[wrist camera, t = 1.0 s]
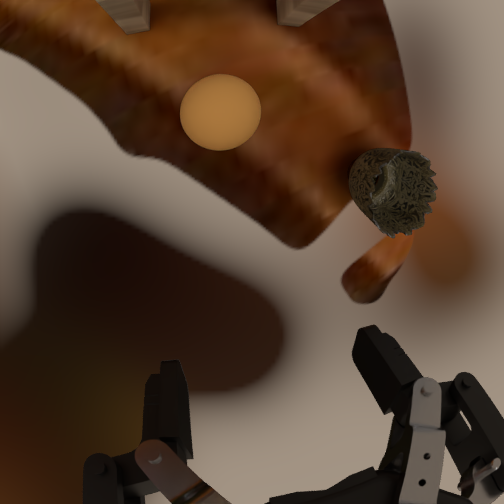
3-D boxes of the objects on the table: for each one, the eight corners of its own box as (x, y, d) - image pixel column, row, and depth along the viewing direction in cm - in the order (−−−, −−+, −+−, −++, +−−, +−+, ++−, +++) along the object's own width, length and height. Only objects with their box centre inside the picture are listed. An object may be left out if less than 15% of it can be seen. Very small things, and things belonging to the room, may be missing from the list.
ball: (180, 82, 20) (175, 72, 14) (251, 78, 21) (268, 67, 15) (184, 149, 22) (181, 160, 17) (253, 143, 23) (271, 153, 18)
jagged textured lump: (390, 139, 25) (443, 155, 18) (384, 204, 29) (430, 234, 22) (329, 136, 24) (377, 148, 17) (325, 208, 28) (367, 243, 21)
